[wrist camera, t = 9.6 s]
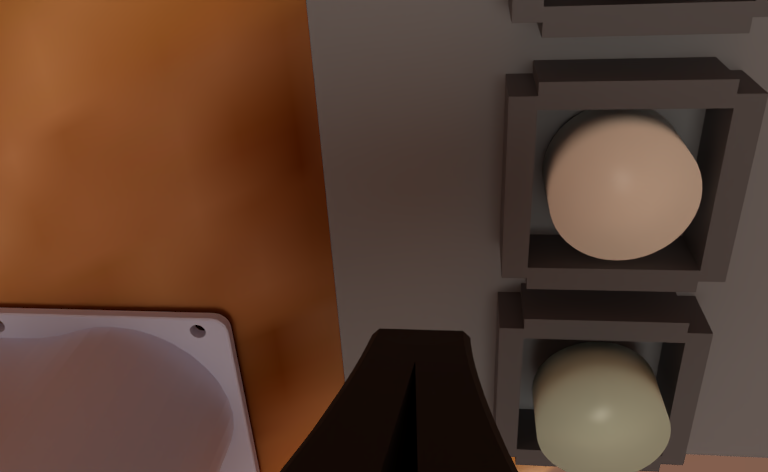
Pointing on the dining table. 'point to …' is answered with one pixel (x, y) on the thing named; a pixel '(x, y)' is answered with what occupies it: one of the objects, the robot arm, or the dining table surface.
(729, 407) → the control panel
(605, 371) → the button sage
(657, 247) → the button cream
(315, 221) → the dining table surface
